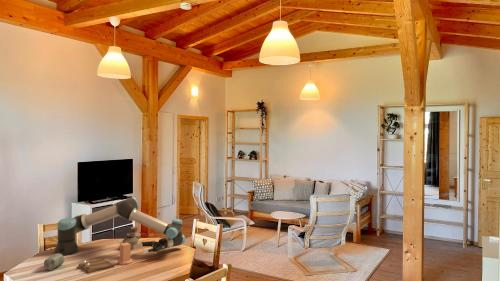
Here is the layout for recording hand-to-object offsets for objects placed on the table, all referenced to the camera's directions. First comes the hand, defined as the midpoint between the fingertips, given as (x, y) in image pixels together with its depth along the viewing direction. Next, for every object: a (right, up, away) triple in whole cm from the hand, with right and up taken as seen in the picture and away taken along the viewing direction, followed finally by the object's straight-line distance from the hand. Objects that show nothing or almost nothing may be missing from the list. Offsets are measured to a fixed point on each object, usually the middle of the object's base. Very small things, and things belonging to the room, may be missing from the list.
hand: (138, 249), depth 247 cm
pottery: (-14, -7, +30) cm, 34 cm away
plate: (-22, -7, -15) cm, 28 cm away
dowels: (-27, -5, -20) cm, 34 cm away
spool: (-48, -6, -18) cm, 52 cm away
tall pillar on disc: (-7, -7, -7) cm, 12 cm away
